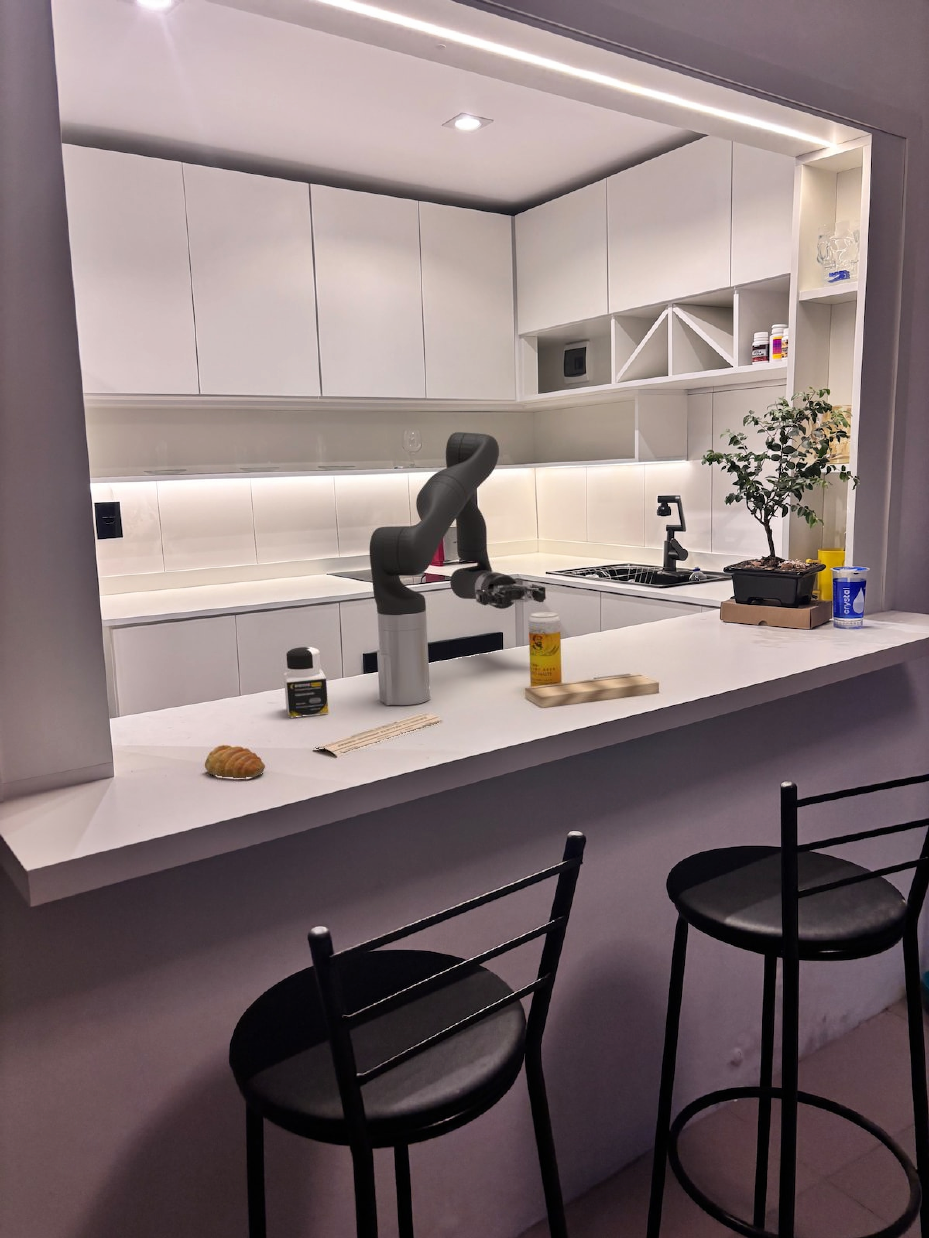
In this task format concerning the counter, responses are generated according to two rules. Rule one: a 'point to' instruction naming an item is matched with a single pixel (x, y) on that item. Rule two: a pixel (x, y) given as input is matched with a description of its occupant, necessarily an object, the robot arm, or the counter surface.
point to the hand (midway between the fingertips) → (523, 599)
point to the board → (591, 690)
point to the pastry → (233, 762)
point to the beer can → (545, 649)
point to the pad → (612, 676)
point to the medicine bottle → (305, 683)
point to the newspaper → (381, 733)
